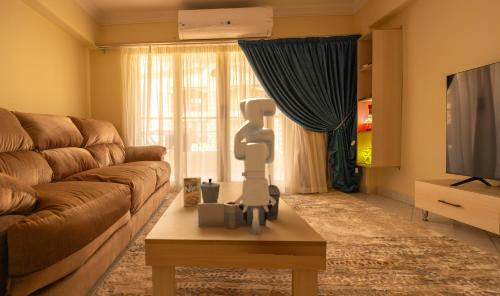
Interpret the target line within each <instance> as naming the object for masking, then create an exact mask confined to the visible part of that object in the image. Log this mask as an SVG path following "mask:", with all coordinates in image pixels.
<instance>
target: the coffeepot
mask: <svg viewBox="0 0 500 296" xmlns="http://www.w3.org/2000/svg"><path fill="white" fill-rule="evenodd" d="M212 180H213V179H212V178H208V182H206V181H203V182H201V199H202V203H219V202H218V199H219V195H220V187H221V185H220V183H217V182H212Z"/></svg>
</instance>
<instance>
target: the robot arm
mask: <svg viewBox="0 0 500 296" xmlns="http://www.w3.org/2000/svg"><path fill="white" fill-rule="evenodd" d="M239 108H240V109H239V110H240V111H241V114H242V116H243V119H244V123H243V124H242V126H241V127H239V128H238V130H237V131H236V132H235V136H234V140H233V142H234V143H233V156H234V158H235V160H238V161H243V163H244V172H241V176H242V177H244V179H243V181H242V192H241V193H242V194H241V195H240V196H239V197H238V198H237V199H236V200H234V201H235V204H236V205H237V206H238V207H239V208H240V209H241V210H242V211H243V218H244V220H245V223H247V208H248V206H263V207H264V222H265V223H266V224H267V221H269V220H268V211H269V210H270V209H271V208H272V207H273V206H274V204H275V203H276V200H275V199H273V198H272V197H271V196H270V195H269V187H268V186H269V182H268V178H266V165H267V164H272V163H273V162H274V160H275V145H276V144H275V143H276V142H275V141H276V139H275V132H274V130H273V129H272V128H269V127H267V128H265V127H264V125H265V124H264V123H265V120H264V117H274V116H276V112H277V105H276V102H275V99H273V98H271V97H270V98H269V97H268V98H267V97H266V98H265V97H263V98H262V97H259V98H257V97H255V98H246V99H243V100H241V101H240V102H239ZM244 139H245V141H243V140H244ZM242 141H243V142H242ZM269 200H270V201H271V203H270V204H269ZM241 201H242V202H241ZM239 202H240V203H243V205H244V207H243V206H242V205H241V204H240V203H239ZM268 204H269V205H268ZM267 205H268V206H267Z"/></svg>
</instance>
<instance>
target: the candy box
mask: <svg viewBox="0 0 500 296" xmlns="http://www.w3.org/2000/svg"><path fill="white" fill-rule="evenodd" d="M182 181H183V206H184V207H198V203H202V191H201V185H202V177H199V176H196V177H193V176H189V177H187V176H185V177H183V180H182Z"/></svg>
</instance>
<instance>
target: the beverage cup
mask: <svg viewBox="0 0 500 296" xmlns="http://www.w3.org/2000/svg"><path fill="white" fill-rule="evenodd" d="M268 176H269V184H268V187H269V195H270V196H271V197H272V198H273V199H275V200H276V203H275V204H274V206H273V207H272V208H271V209H270V210H269V211H268V220H267V221H271V222H273V221H275V222H276V221H277V220H278V217H279V203H280V197H281V191H280V189H279V187H278V186H277V185H274V184H272V180H271V179H272V178H271V174H269V175H268ZM270 203H271V201H270V200H269V204H270ZM269 204H268V205H269ZM268 205H267V206H268Z"/></svg>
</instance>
